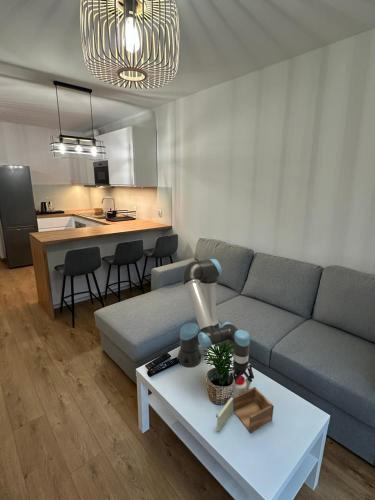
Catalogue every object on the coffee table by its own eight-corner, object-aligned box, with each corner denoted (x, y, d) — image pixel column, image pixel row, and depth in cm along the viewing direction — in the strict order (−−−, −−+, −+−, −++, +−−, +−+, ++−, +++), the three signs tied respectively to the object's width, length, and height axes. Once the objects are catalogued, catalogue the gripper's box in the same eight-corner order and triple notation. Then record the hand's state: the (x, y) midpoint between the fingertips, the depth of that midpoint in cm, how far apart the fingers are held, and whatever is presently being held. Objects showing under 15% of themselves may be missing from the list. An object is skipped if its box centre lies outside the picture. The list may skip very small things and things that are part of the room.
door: (228, 409, 132) (229, 395, 130) (232, 411, 131) (233, 397, 128) (214, 428, 122) (215, 414, 119) (219, 431, 120) (219, 417, 118)
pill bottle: (235, 387, 146) (236, 371, 142) (248, 394, 141) (249, 377, 138) (228, 396, 140) (229, 379, 137) (241, 403, 135) (242, 386, 132)
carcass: (233, 411, 131) (233, 396, 129) (253, 400, 137) (255, 386, 134) (250, 433, 120) (251, 417, 117) (272, 420, 126) (273, 405, 123)
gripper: (226, 371, 126) (224, 407, 132) (263, 356, 136) (260, 390, 142) (217, 362, 132) (216, 397, 138) (253, 348, 142) (250, 381, 148)
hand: (238, 393), depth 140 cm, fingers open, 11 cm apart
